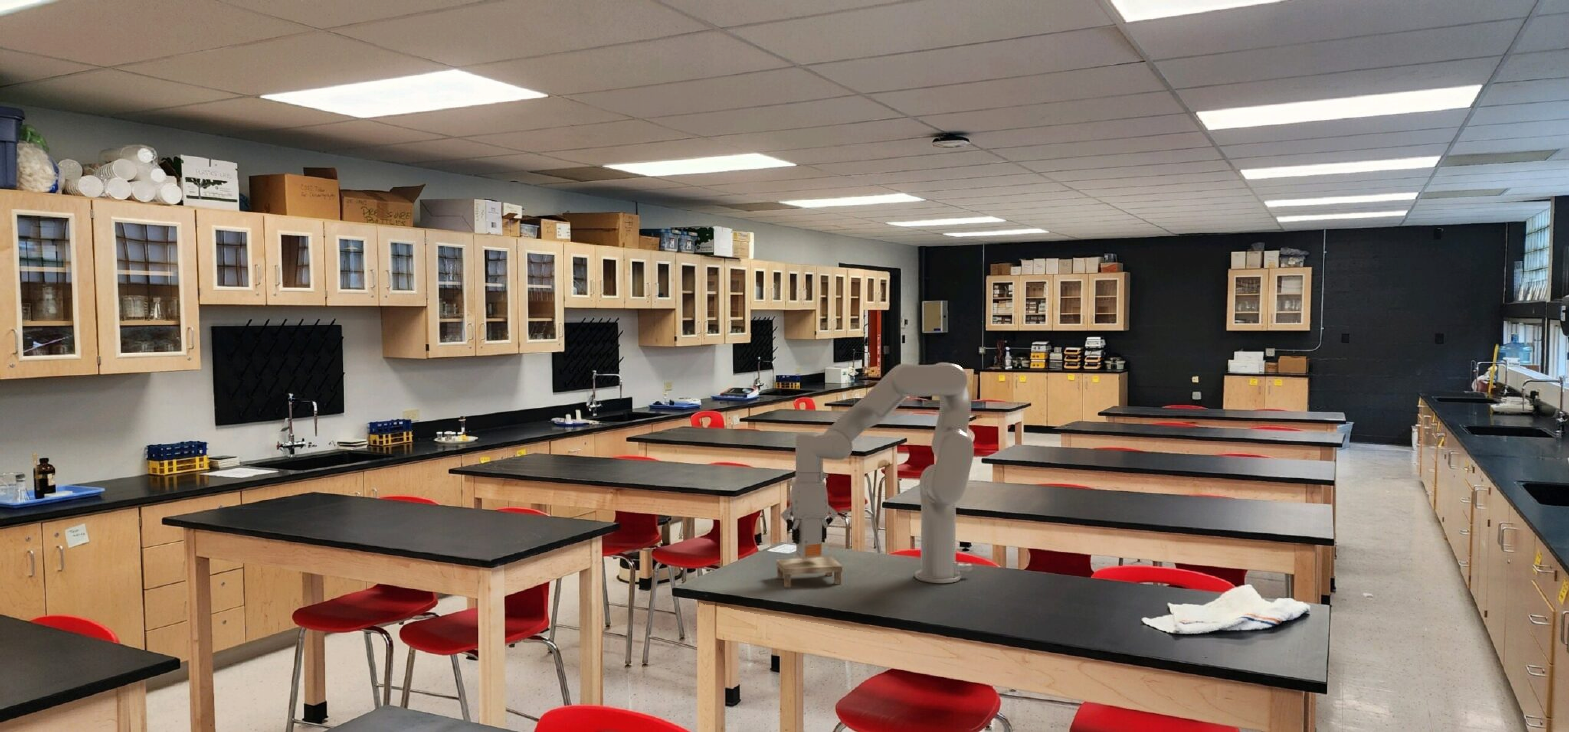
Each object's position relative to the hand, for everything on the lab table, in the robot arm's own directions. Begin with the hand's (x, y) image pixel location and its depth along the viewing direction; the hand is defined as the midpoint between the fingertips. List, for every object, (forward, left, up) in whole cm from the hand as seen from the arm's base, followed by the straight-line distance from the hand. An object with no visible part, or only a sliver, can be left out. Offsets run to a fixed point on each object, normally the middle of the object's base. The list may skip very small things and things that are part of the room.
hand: (809, 541), depth 260 cm
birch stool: (0, 0, -11) cm, 11 cm away
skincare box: (0, 0, -4) cm, 4 cm away
